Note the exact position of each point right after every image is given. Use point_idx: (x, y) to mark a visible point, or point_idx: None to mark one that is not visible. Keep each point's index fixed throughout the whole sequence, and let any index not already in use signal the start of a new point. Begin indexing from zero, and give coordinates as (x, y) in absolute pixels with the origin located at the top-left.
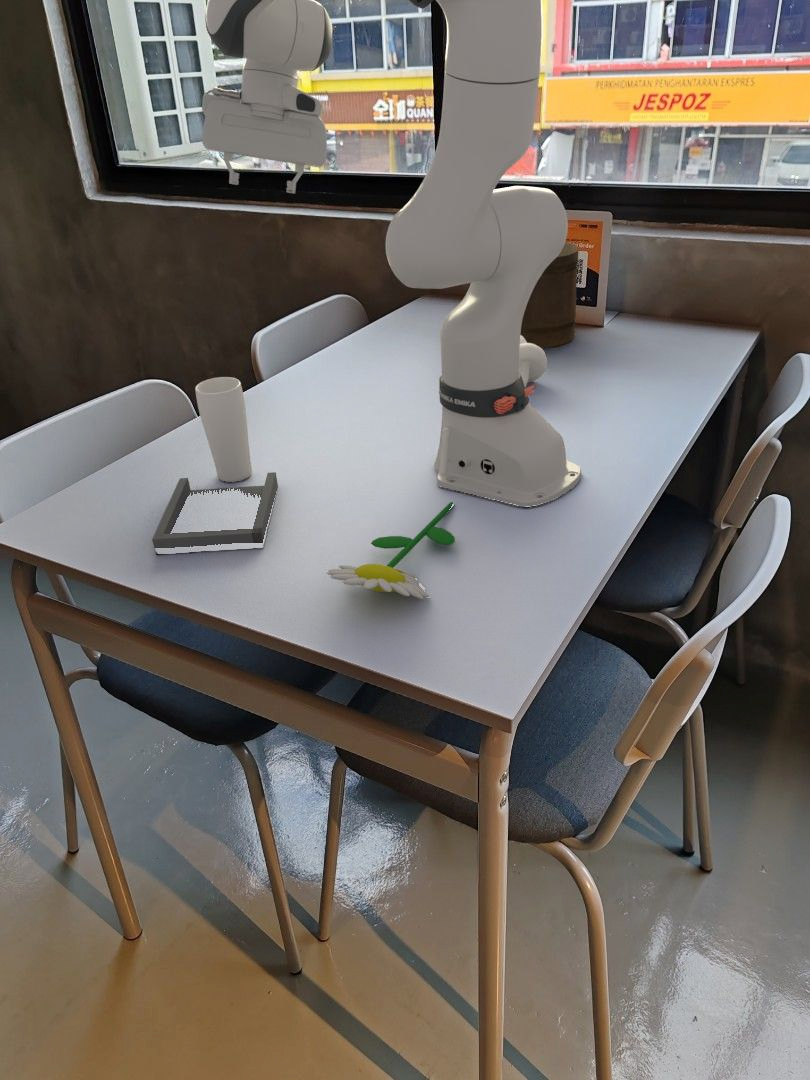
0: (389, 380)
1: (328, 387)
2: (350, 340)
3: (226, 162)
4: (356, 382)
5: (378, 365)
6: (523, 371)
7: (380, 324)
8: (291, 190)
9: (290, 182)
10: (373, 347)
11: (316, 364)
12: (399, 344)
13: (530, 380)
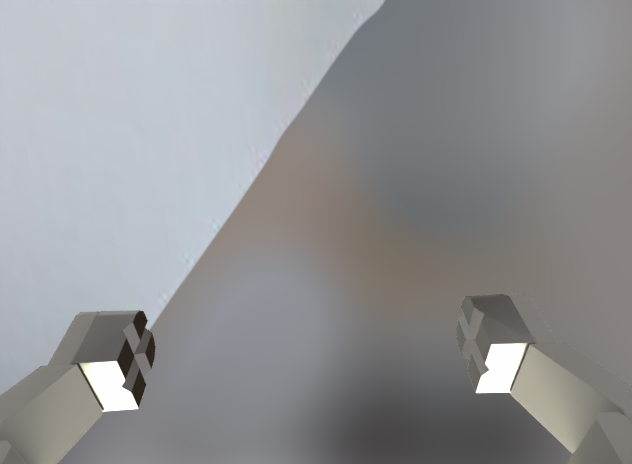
0: (7, 120)
1: (145, 108)
2: None
3: (625, 391)
4: (86, 124)
5: (51, 210)
6: None
7: None
8: (103, 313)
9: (95, 352)
10: (79, 304)
11: (187, 233)
12: (23, 315)
13: None
